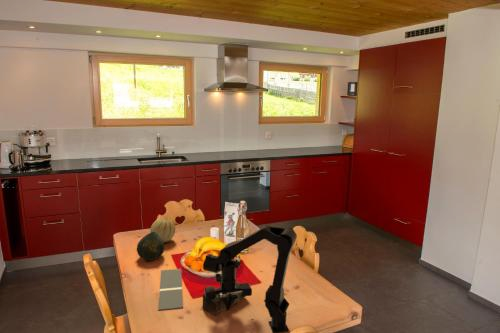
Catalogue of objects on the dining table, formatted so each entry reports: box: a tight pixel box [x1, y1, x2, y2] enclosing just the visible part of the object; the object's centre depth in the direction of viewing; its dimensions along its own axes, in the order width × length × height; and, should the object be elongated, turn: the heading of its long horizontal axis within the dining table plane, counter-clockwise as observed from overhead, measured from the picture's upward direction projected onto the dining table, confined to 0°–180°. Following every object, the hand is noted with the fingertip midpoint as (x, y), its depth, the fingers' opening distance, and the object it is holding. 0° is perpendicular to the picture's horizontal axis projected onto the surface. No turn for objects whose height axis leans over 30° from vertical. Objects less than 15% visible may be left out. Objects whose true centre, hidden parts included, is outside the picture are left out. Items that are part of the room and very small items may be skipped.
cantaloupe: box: [149, 217, 176, 244], centre depth 208 cm, size 15×15×15 cm
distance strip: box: [157, 268, 184, 311], centre depth 158 cm, size 34×10×1 cm, turn 13°
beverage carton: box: [202, 280, 246, 316], centre depth 147 cm, size 8×19×7 cm, turn 137°
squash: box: [136, 232, 165, 262], centre depth 187 cm, size 14×15×15 cm
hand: (227, 310), depth 140 cm, fingers closed
